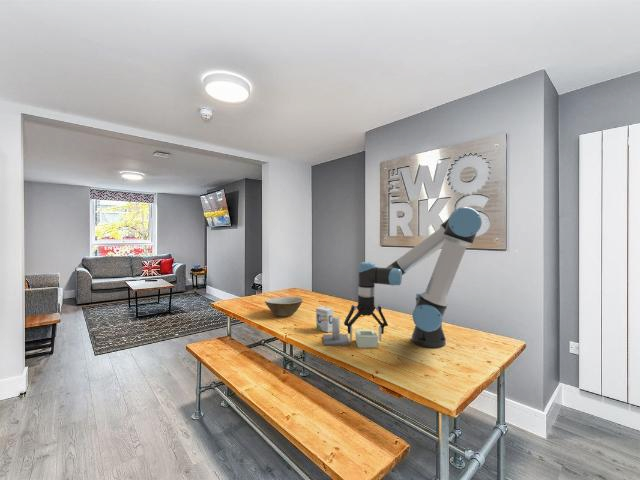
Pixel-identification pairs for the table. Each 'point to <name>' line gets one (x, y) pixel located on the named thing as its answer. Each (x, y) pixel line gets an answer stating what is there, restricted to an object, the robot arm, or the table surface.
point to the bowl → (284, 305)
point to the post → (336, 335)
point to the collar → (366, 339)
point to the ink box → (324, 318)
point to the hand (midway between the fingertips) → (365, 340)
